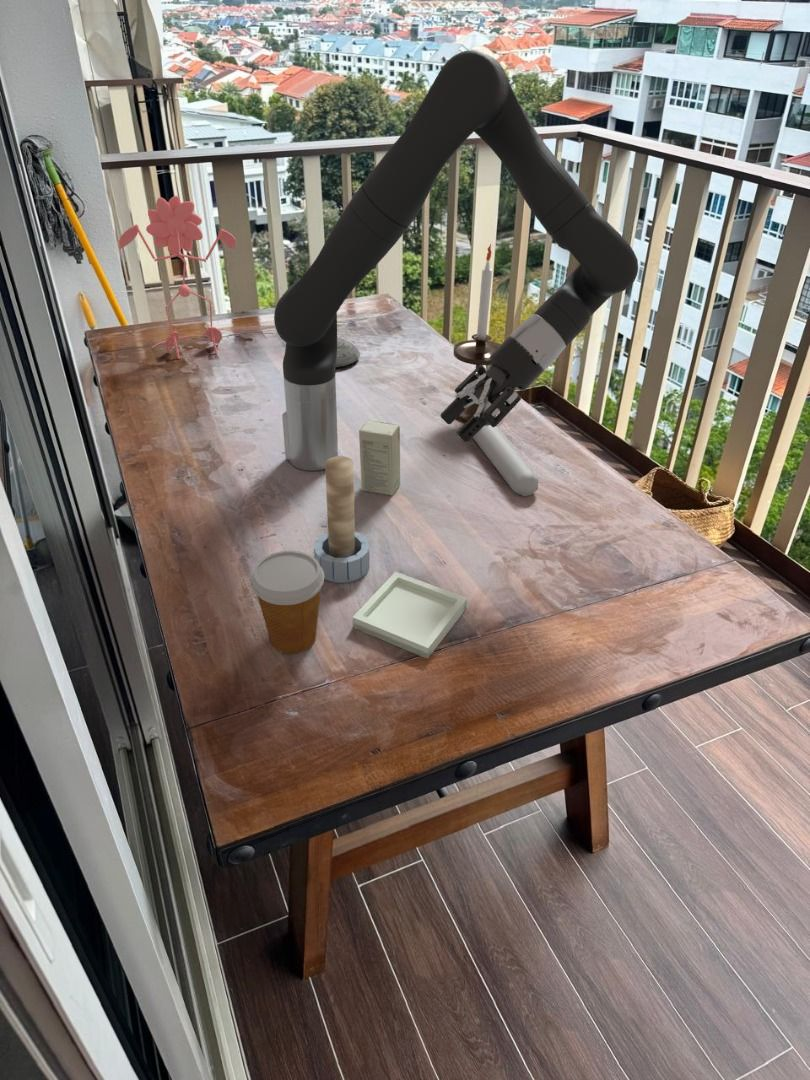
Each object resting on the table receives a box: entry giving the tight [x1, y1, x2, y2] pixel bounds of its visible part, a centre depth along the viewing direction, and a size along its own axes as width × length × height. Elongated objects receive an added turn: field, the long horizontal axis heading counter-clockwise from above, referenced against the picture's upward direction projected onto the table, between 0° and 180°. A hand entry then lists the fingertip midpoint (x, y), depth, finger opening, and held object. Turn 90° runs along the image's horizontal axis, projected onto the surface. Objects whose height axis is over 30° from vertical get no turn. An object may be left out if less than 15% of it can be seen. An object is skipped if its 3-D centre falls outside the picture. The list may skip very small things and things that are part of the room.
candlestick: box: [452, 243, 502, 423], centre depth 151 cm, size 11×11×35 cm
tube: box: [472, 414, 540, 498], centre depth 143 cm, size 5×5×25 cm
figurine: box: [118, 195, 237, 360], centre depth 178 cm, size 15×26×35 cm, turn 113°
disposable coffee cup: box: [250, 550, 325, 655], centre depth 101 cm, size 10×10×12 cm
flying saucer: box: [335, 337, 361, 368], centre depth 183 cm, size 15×15×6 cm
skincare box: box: [358, 419, 401, 496], centre depth 133 cm, size 6×4×12 cm
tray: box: [352, 571, 468, 659], centre depth 108 cm, size 12×12×2 cm
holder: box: [313, 531, 371, 584], centre depth 117 cm, size 8×8×4 cm
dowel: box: [324, 455, 356, 558], centre depth 112 cm, size 4×4×18 cm
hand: (452, 429), depth 117 cm, fingers open, 8 cm apart
